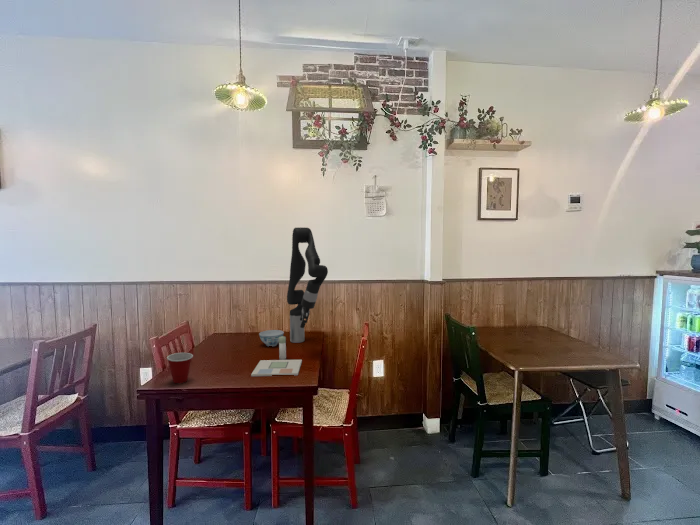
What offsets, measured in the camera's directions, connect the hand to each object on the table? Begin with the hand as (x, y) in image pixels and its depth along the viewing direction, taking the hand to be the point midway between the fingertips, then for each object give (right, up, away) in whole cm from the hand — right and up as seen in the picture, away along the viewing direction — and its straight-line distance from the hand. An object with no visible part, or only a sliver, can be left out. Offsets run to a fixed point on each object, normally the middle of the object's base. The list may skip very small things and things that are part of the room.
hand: (301, 324), depth 196 cm
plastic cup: (-51, -20, -36) cm, 65 cm away
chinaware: (-22, -17, +21) cm, 34 cm away
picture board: (-9, -19, -21) cm, 29 cm away
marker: (-10, -18, -6) cm, 21 cm away
